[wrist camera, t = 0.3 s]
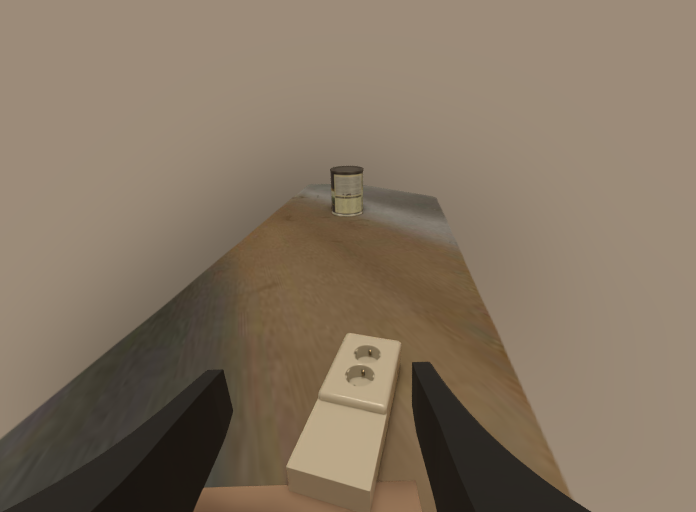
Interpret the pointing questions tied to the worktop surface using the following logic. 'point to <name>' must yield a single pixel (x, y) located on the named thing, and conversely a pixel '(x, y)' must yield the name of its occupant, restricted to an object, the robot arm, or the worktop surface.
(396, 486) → the wooden board
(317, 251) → the worktop surface
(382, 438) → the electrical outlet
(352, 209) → the coffee can
